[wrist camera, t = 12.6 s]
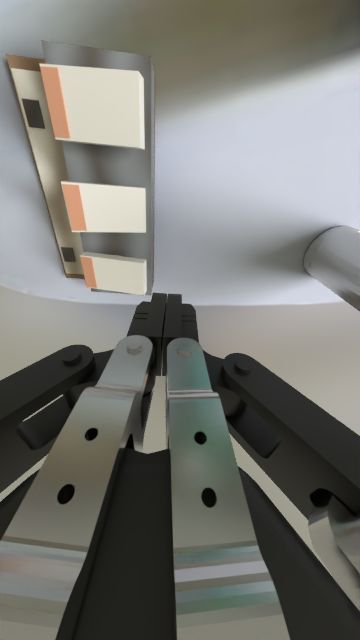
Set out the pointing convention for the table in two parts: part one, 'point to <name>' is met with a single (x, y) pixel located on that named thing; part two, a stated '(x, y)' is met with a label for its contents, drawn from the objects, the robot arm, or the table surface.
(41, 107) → the switch box
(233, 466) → the robot arm
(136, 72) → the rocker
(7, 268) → the table surface
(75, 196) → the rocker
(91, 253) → the cream box
